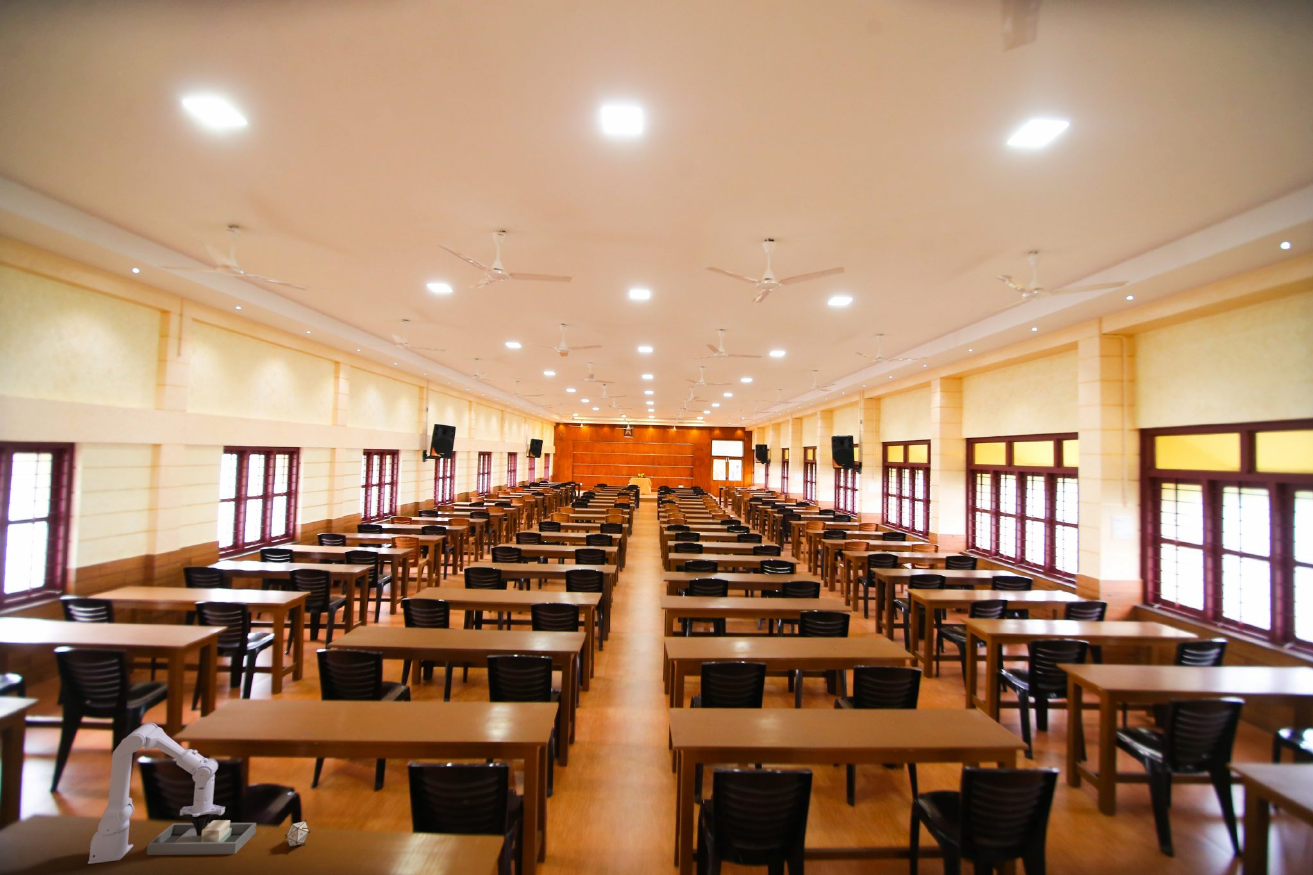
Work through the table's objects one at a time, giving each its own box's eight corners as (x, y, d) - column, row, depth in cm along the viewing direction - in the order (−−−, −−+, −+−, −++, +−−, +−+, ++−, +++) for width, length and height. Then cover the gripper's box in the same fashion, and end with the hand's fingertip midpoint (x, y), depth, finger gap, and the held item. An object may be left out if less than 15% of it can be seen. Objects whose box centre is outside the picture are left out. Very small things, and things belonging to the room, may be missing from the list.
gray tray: (146, 854, 205) (147, 844, 205) (172, 833, 217) (173, 823, 217) (234, 854, 207) (235, 843, 207) (255, 832, 219) (256, 822, 219)
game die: (298, 857, 212) (299, 844, 207) (278, 847, 212) (277, 835, 207) (316, 832, 220) (317, 819, 215) (296, 822, 220) (297, 810, 215)
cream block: (201, 841, 209) (202, 830, 209) (212, 831, 215) (213, 820, 215) (218, 841, 210) (219, 830, 210) (229, 831, 216) (230, 820, 216)
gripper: (174, 802, 208) (171, 841, 208) (216, 802, 209) (213, 840, 209) (189, 791, 215) (186, 828, 215) (229, 791, 216) (226, 828, 216)
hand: (200, 833), depth 212 cm, fingers closed
